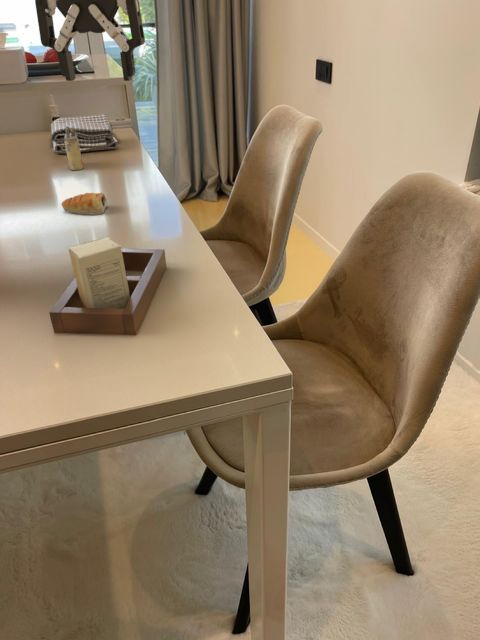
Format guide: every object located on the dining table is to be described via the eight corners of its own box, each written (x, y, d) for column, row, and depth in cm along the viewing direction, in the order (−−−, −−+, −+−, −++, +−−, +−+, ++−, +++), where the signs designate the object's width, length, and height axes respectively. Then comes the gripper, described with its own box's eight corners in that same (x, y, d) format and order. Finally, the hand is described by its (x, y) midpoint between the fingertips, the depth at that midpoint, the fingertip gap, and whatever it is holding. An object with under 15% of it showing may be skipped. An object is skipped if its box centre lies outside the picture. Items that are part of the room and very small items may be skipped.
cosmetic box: (123, 310, 86) (110, 235, 79) (135, 321, 83) (123, 245, 76) (83, 323, 83) (66, 246, 76) (94, 335, 80) (78, 257, 73)
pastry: (59, 216, 120) (56, 198, 118) (67, 205, 125) (64, 188, 123) (104, 215, 120) (101, 197, 118) (109, 204, 126) (106, 188, 124)
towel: (53, 143, 172) (48, 116, 168) (114, 138, 177) (110, 112, 172) (54, 156, 160) (48, 127, 156) (119, 150, 165) (115, 122, 160)
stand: (56, 343, 78) (48, 312, 76) (101, 275, 96) (96, 247, 93) (137, 345, 78) (132, 314, 75) (167, 276, 96) (164, 249, 93)
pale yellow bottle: (83, 170, 148) (75, 130, 143) (68, 171, 147) (60, 131, 142) (82, 163, 154) (76, 124, 148) (68, 164, 153) (61, 125, 148)
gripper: (139, -56, 76) (152, 76, 85) (36, -55, 76) (60, 76, 85) (124, -59, 69) (141, 84, 78) (13, -58, 70) (42, 84, 79)
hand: (99, 80), depth 82 cm, fingers open, 8 cm apart
